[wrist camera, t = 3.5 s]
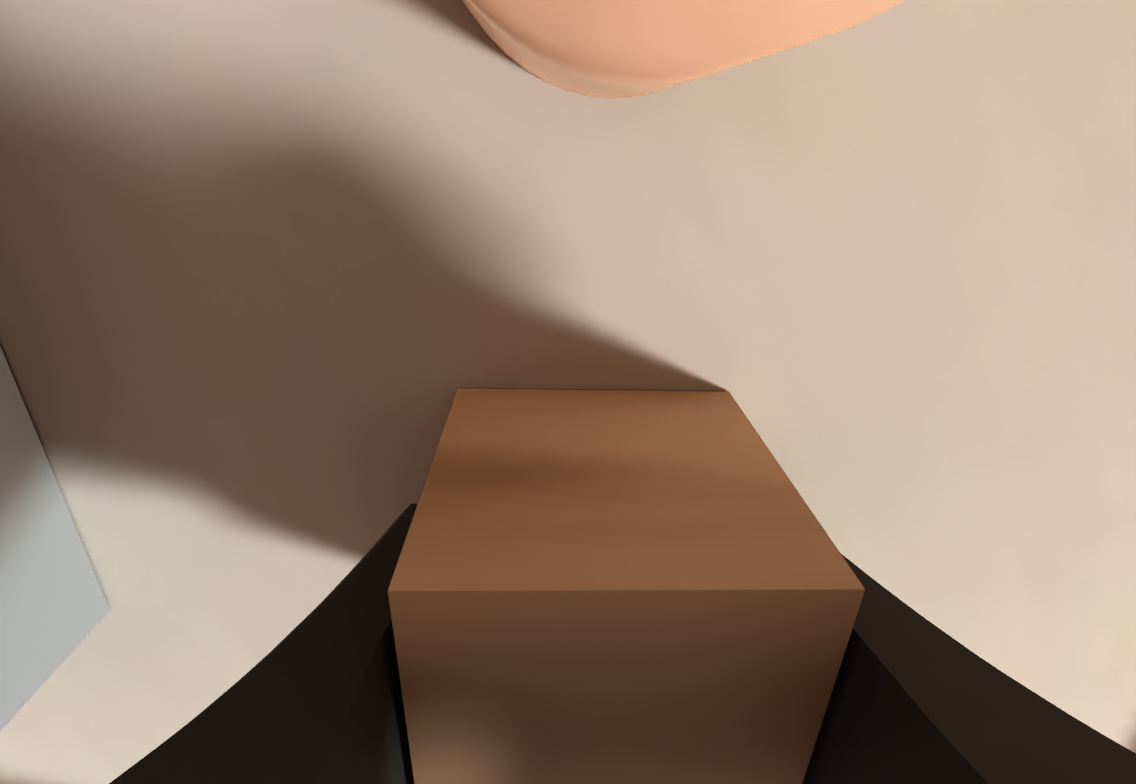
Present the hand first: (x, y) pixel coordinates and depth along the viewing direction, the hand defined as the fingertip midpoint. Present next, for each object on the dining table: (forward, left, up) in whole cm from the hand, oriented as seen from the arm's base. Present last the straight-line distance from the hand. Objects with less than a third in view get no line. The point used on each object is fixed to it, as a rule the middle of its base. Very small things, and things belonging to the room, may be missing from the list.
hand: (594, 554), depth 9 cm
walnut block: (0, 0, -1) cm, 1 cm away
